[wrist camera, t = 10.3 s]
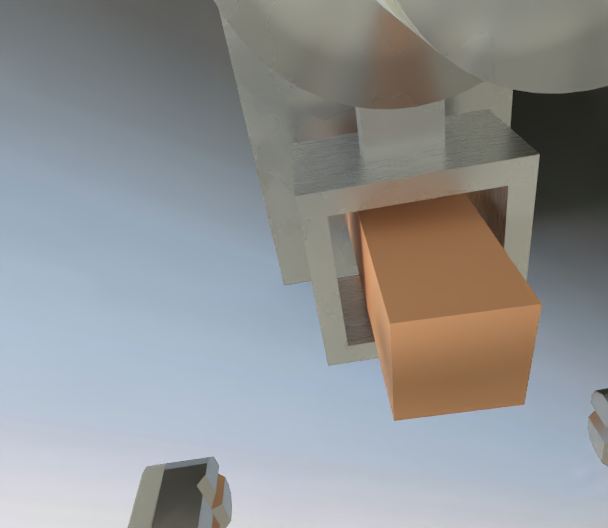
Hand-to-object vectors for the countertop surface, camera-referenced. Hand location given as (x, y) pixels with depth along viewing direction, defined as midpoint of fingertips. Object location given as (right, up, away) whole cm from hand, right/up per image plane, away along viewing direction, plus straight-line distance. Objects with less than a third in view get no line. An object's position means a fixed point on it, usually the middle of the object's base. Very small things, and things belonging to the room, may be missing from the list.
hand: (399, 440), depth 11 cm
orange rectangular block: (+1, +7, +10) cm, 12 cm away
